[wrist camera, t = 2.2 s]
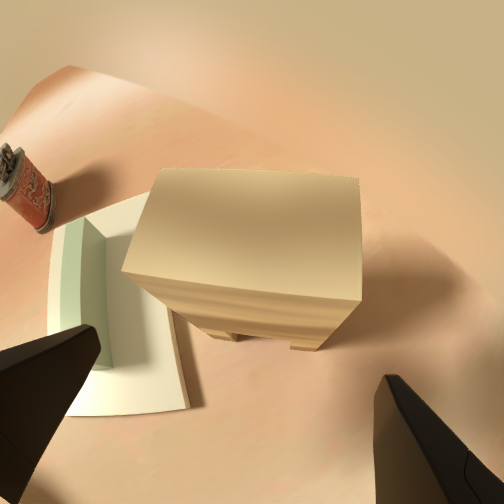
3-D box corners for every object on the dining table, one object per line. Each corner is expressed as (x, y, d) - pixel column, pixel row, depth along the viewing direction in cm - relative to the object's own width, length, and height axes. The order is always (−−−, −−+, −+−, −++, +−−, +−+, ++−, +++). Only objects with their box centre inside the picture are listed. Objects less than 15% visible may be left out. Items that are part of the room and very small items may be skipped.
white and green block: (190, 407, 16) (164, 412, 12) (63, 415, 16) (26, 413, 12) (159, 195, 25) (139, 163, 21) (60, 233, 24) (34, 210, 20)
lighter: (38, 193, 28) (-6, 145, 19) (56, 179, 29) (13, 127, 20) (36, 239, 25) (-22, 190, 16) (56, 225, 25) (-1, 169, 16)
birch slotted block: (314, 351, 17) (361, 300, 7) (213, 338, 19) (120, 271, 8) (320, 294, 19) (358, 178, 8) (224, 283, 20) (160, 168, 10)
